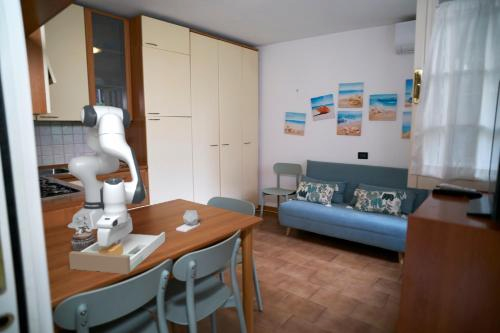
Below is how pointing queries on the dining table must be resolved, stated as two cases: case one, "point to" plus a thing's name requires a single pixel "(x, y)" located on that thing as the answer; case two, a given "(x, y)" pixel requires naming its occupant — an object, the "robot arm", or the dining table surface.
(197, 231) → the dining table surface
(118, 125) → the robot arm
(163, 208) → the dining table surface
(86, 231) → the cupcake
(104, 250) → the block
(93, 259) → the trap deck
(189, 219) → the die
